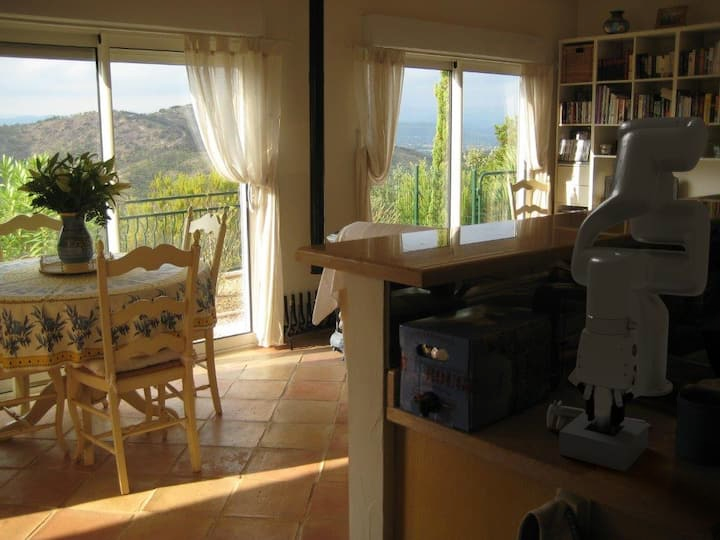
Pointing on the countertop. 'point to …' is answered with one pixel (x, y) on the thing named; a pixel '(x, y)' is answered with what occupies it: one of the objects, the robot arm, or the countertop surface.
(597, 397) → the steel pin
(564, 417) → the caliper
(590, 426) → the bore block
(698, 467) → the countertop surface
